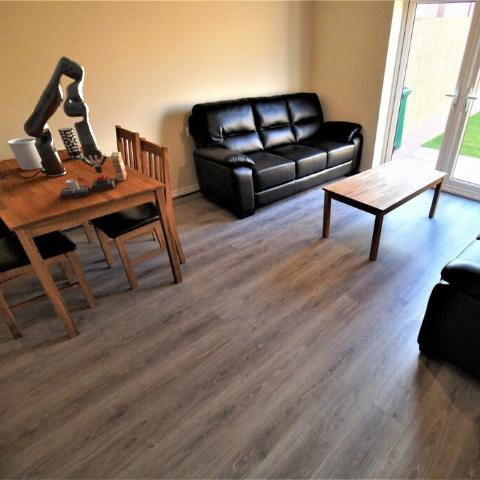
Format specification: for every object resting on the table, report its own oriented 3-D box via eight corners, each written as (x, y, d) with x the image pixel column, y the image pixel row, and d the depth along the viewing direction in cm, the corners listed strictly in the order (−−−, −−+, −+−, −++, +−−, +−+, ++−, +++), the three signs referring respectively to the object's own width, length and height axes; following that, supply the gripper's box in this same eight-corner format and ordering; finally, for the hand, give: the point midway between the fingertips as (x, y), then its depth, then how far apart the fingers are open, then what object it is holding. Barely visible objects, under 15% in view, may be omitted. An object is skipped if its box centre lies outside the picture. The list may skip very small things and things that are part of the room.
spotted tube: (73, 155, 235) (62, 127, 225) (85, 155, 236) (75, 127, 225) (67, 159, 228) (55, 130, 218) (79, 159, 229) (68, 130, 218)
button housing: (94, 191, 182) (90, 183, 180) (95, 185, 189) (92, 177, 187) (114, 188, 186) (111, 180, 183) (114, 183, 193) (112, 175, 190)
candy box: (125, 180, 196) (117, 155, 188) (118, 181, 195) (109, 156, 187) (127, 175, 204) (120, 151, 195) (120, 176, 202) (112, 152, 194)
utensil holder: (46, 161, 224) (34, 136, 215) (50, 166, 215) (38, 140, 206) (19, 166, 215) (5, 140, 206) (22, 172, 206) (8, 144, 197)
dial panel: (61, 200, 172) (59, 194, 171) (65, 193, 180) (62, 187, 178) (88, 196, 177) (86, 190, 175) (90, 189, 184) (88, 184, 183)
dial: (68, 191, 174) (64, 182, 171) (70, 188, 178) (66, 179, 175) (78, 190, 176) (74, 181, 173) (80, 187, 179) (76, 178, 177)
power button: (97, 181, 183) (96, 177, 182) (98, 178, 186) (97, 175, 185) (105, 180, 184) (104, 176, 183) (106, 177, 187) (105, 174, 186)
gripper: (103, 139, 179) (113, 169, 188) (74, 141, 174) (87, 172, 184) (102, 142, 174) (112, 173, 183) (72, 145, 169) (85, 176, 178)
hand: (99, 172), depth 183 cm, fingers closed
